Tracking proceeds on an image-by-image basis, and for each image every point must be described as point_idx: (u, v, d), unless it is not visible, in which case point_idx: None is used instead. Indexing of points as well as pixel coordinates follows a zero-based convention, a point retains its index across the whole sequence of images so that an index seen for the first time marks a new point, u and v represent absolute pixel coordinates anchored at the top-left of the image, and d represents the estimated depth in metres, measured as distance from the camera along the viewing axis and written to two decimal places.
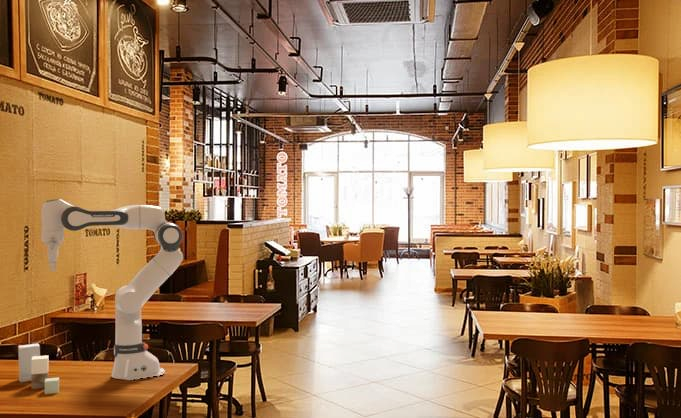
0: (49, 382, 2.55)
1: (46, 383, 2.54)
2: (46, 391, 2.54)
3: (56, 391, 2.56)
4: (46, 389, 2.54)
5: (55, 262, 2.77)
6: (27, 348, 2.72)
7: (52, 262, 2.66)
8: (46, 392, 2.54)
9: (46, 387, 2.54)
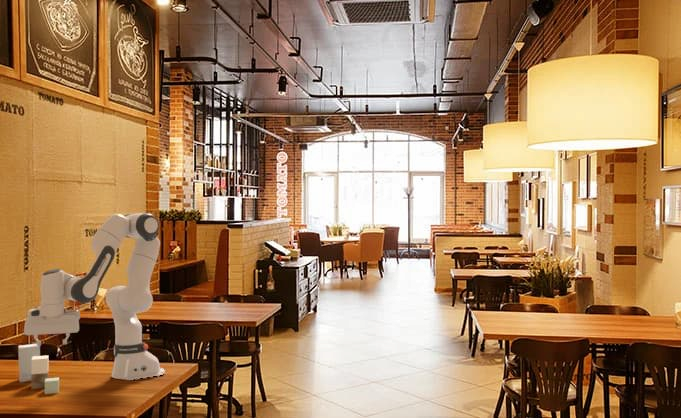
0: (49, 382, 2.55)
1: (46, 383, 2.54)
2: (46, 391, 2.54)
3: (56, 391, 2.56)
4: (46, 389, 2.54)
5: (37, 338, 2.56)
6: (27, 348, 2.72)
7: (69, 334, 2.60)
8: (46, 392, 2.54)
9: (46, 387, 2.54)
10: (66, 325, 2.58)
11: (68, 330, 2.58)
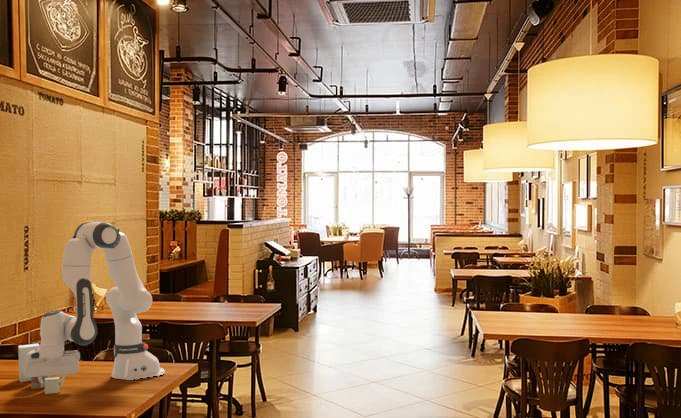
0: (49, 382, 2.55)
1: (46, 383, 2.54)
2: (46, 391, 2.54)
3: (56, 391, 2.56)
4: (46, 389, 2.54)
5: (41, 379, 2.57)
6: (27, 348, 2.72)
7: (65, 375, 2.59)
8: (46, 392, 2.54)
9: (46, 387, 2.54)
10: (66, 367, 2.58)
11: (68, 372, 2.58)
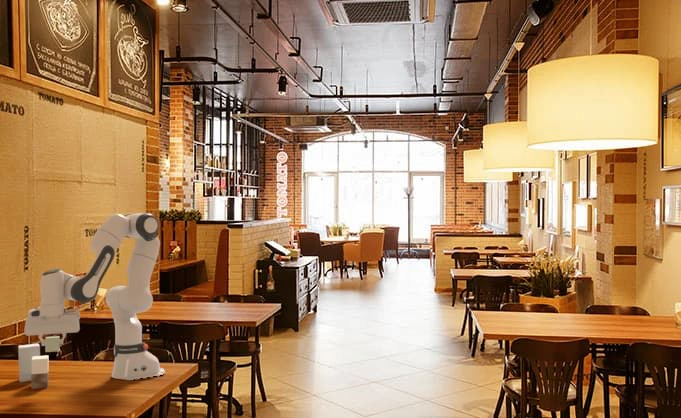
0: (50, 340, 2.55)
1: (47, 341, 2.55)
2: (47, 349, 2.55)
3: (57, 349, 2.56)
4: (47, 347, 2.55)
5: None
6: (27, 348, 2.72)
7: None
8: (47, 350, 2.55)
9: (47, 345, 2.55)
10: (66, 325, 2.58)
11: (68, 330, 2.58)
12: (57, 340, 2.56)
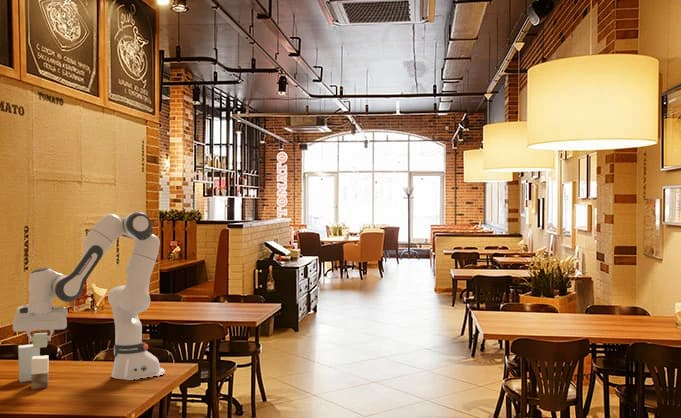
0: (37, 336, 2.62)
1: (34, 337, 2.62)
2: (34, 345, 2.62)
3: (44, 345, 2.63)
4: (34, 343, 2.62)
5: None
6: (27, 348, 2.72)
7: (53, 331, 2.67)
8: (34, 346, 2.62)
9: (34, 341, 2.62)
10: (54, 322, 2.65)
11: (55, 327, 2.65)
12: (45, 336, 2.63)
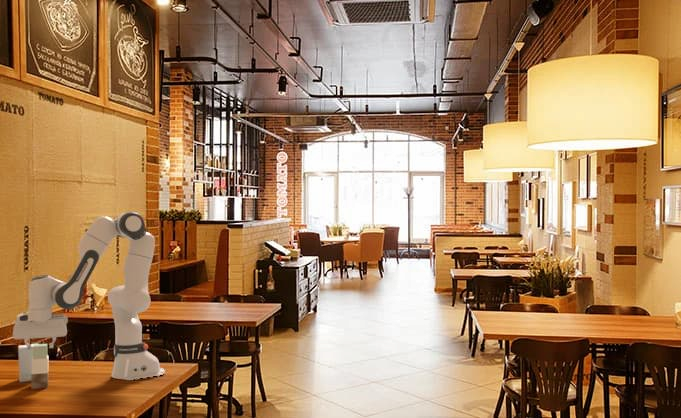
0: (37, 347, 2.62)
1: (34, 348, 2.62)
2: (34, 356, 2.62)
3: (44, 356, 2.63)
4: (34, 354, 2.62)
5: (27, 342, 2.64)
6: None
7: None
8: (34, 357, 2.62)
9: (34, 352, 2.62)
10: (54, 329, 2.65)
11: (55, 334, 2.65)
12: (45, 347, 2.63)
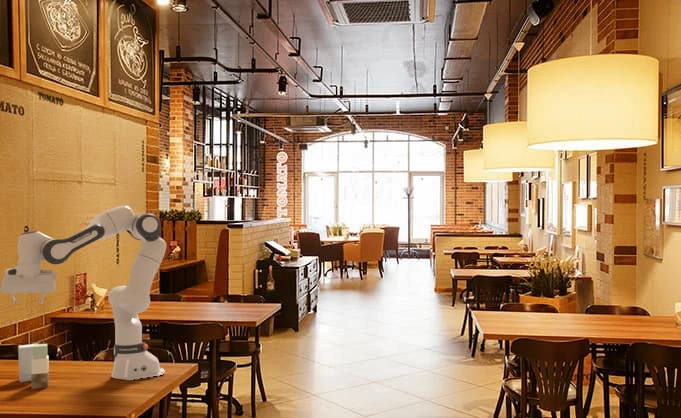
0: (37, 347, 2.62)
1: (34, 348, 2.62)
2: (34, 356, 2.62)
3: (44, 356, 2.63)
4: (34, 354, 2.62)
5: None
6: (27, 348, 2.72)
7: (45, 294, 2.68)
8: (34, 357, 2.62)
9: (34, 352, 2.62)
10: (42, 285, 2.66)
11: (44, 290, 2.66)
12: (45, 347, 2.63)
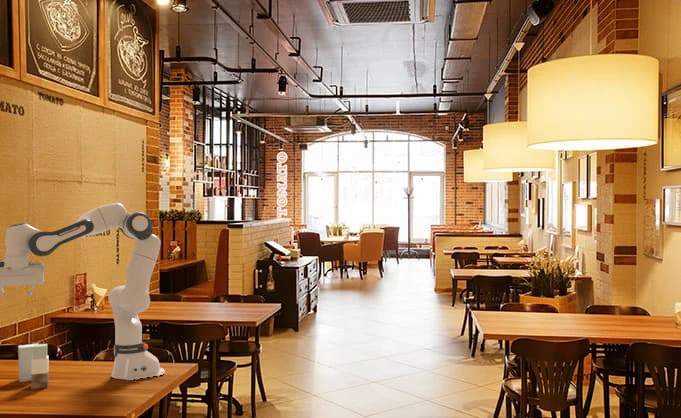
0: (37, 347, 2.62)
1: (34, 348, 2.62)
2: (34, 356, 2.62)
3: (44, 356, 2.63)
4: (34, 354, 2.62)
5: (2, 289, 2.64)
6: (27, 348, 2.72)
7: (34, 286, 2.68)
8: (34, 357, 2.62)
9: (34, 352, 2.62)
10: (31, 277, 2.66)
11: (32, 282, 2.66)
12: (45, 348, 2.63)
